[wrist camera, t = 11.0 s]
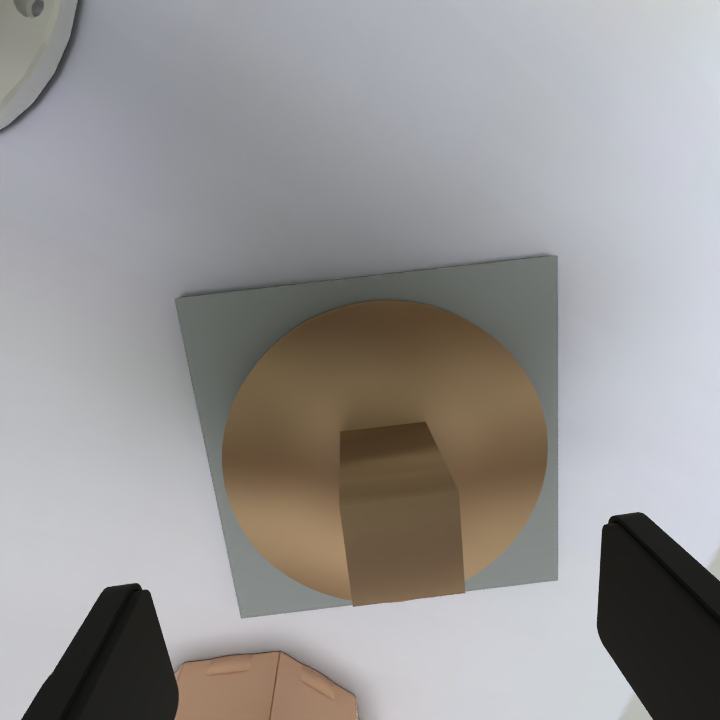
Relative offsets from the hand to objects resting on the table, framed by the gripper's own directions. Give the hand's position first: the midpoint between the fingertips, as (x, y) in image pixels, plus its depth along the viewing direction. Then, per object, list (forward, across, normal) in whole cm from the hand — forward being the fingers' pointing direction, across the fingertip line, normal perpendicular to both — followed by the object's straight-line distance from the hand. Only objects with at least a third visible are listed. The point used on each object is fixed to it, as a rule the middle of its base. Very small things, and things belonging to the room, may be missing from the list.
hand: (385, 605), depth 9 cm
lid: (+9, -1, +1) cm, 9 cm away
